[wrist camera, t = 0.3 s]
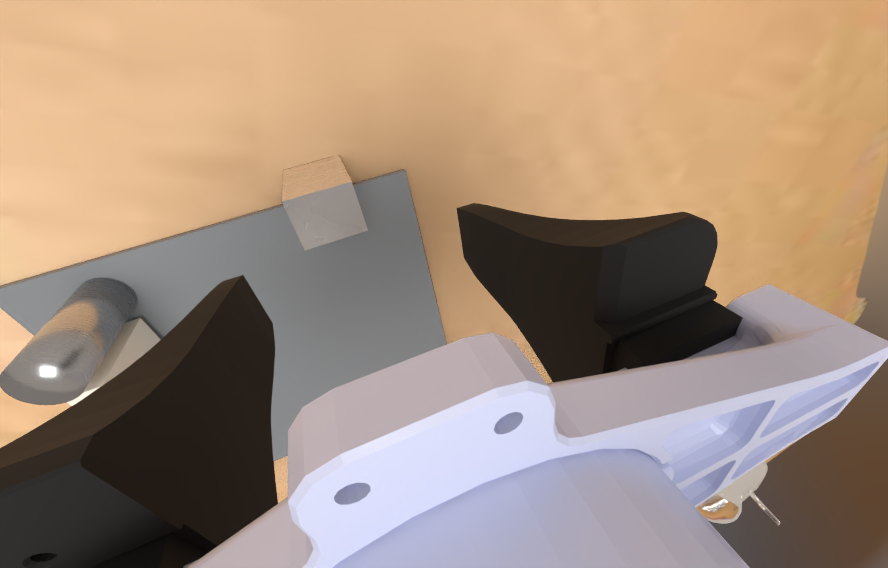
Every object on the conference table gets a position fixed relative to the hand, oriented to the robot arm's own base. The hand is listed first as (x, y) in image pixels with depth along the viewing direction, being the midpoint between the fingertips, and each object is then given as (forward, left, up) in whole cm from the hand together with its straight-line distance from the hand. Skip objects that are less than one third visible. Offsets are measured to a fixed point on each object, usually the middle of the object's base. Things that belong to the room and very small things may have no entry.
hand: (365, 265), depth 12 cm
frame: (-1, +7, -10) cm, 12 cm away
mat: (-10, +7, -10) cm, 16 cm away
